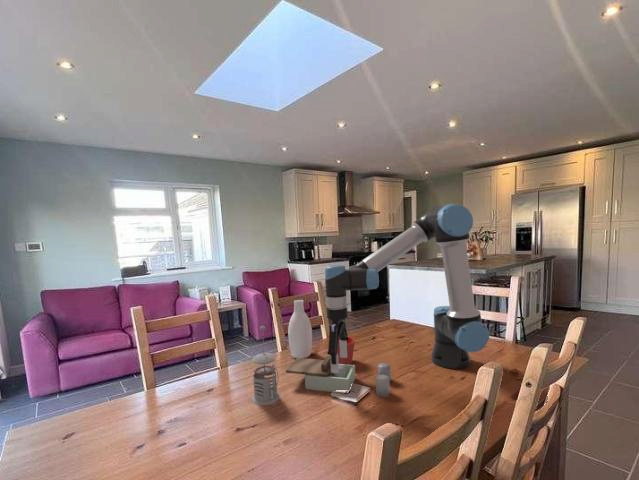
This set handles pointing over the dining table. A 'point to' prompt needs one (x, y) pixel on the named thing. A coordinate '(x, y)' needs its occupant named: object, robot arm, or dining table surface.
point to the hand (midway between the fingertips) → (339, 364)
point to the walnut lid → (310, 367)
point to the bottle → (300, 332)
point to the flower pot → (349, 352)
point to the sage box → (331, 380)
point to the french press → (265, 379)
